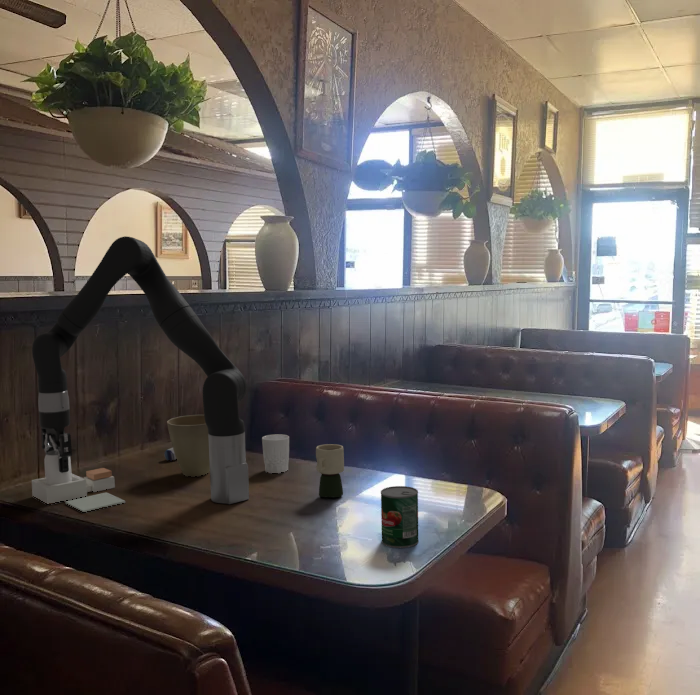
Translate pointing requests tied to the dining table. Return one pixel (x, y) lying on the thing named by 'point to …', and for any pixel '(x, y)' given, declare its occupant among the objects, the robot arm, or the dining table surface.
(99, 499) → the pad
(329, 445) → the character mug
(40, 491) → the white piece
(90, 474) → the light brown square block
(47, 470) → the can
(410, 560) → the dining table surface
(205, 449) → the plant pot
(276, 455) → the white cup
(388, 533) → the canned tomato
